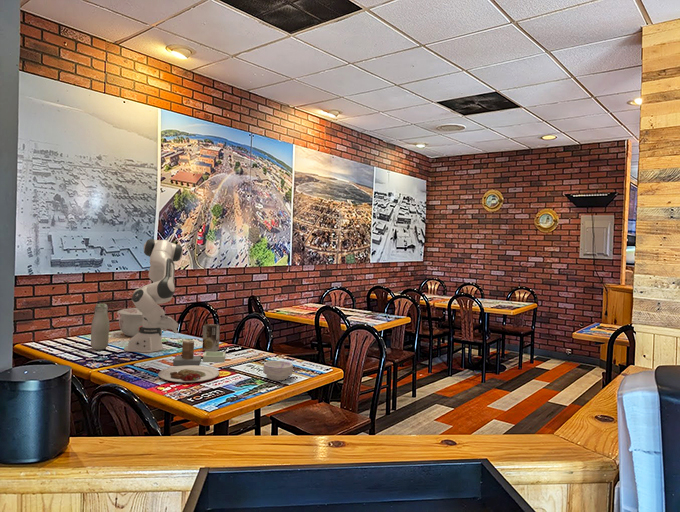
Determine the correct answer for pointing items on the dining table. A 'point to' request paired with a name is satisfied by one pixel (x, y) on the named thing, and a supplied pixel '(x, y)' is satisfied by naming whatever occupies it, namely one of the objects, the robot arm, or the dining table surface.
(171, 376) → the plated food
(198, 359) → the block
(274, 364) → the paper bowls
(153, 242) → the robot arm
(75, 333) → the dining table surface
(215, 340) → the coffee box
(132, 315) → the chamber pot
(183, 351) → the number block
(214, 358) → the holder
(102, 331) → the glass bottle
